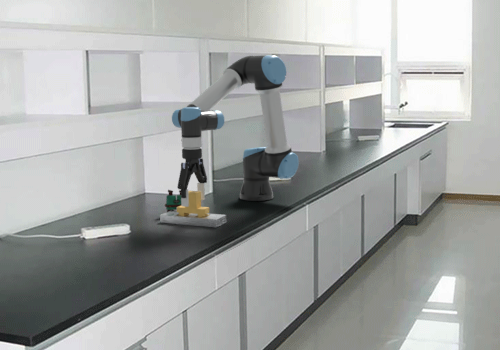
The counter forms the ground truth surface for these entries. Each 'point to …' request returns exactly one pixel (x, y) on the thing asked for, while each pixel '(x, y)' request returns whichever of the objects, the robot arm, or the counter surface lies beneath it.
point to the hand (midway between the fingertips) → (193, 202)
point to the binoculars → (172, 201)
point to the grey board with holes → (193, 219)
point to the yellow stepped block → (193, 205)
